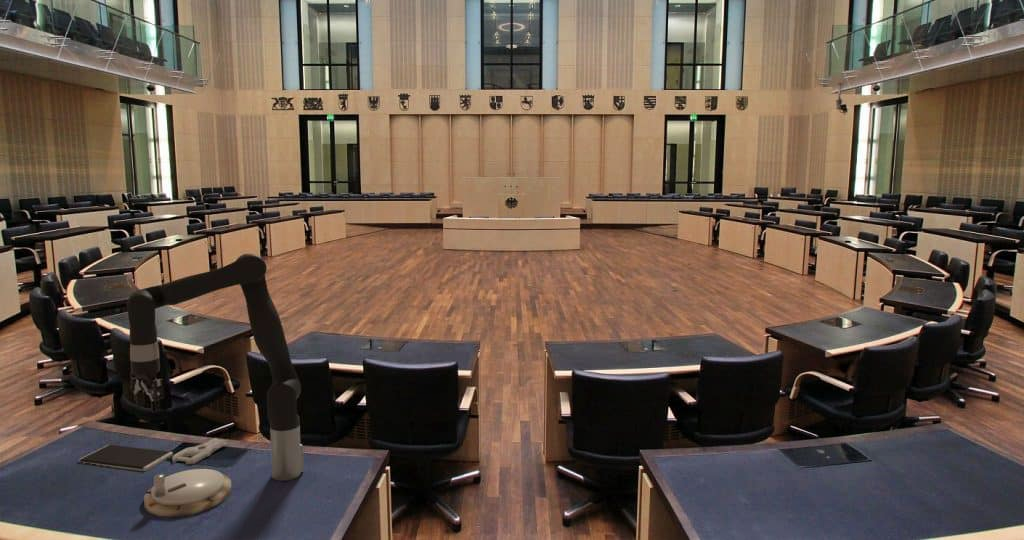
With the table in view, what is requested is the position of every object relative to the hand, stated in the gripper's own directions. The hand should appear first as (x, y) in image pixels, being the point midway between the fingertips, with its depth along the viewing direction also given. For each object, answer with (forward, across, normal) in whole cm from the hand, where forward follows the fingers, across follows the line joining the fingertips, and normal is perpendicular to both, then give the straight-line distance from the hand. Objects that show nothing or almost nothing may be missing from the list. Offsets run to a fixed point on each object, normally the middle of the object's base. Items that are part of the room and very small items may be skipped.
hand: (148, 408), depth 189 cm
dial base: (+28, -9, -6) cm, 30 cm away
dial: (+26, -9, -6) cm, 28 cm away
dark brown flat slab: (+29, +33, -8) cm, 44 cm away
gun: (+29, +16, -25) cm, 41 cm away
